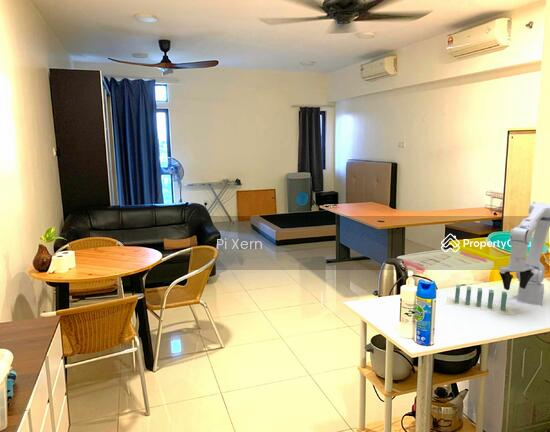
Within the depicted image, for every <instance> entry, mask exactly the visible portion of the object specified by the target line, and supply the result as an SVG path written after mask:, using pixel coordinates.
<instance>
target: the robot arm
mask: <svg viewBox="0 0 550 432" xmlns="http://www.w3.org/2000/svg"><path fill="white" fill-rule="evenodd" d="M528 214H529V215H528V217H526V218H525V217H524V218H523V219H522V220H521V221H520V223H519V224H518V225H517V226H515V227H513V228H512V229H511V230H510V235H509V240H510V242H509V243H510V254H509V255H510V256H509V263H508V265H507V266H503V267H499V271H498V272H499V273H498V274H499V275H500V277H501V280H502V284H503V285H502V286H503V289H504V290H506V291H509V290H510V289H511V288H510V287H511V283H512V280H513V278H514V275H512V274H511V273H515V277H516V279H518V280H517V281H518V283H519V284H518V289H517V291H518V292H517V295H515V298H516V301H517V302H518V303H522V304H523V303H524V304H531V305H536V306H537V305H538V306H542V307H543V299H544V295H545V294H544V293H545V285H544V283H543V282H544V279H545V275H546V273H545V272H546V267H545V266H544V264H543V263H541V261H540V260H541V258H542V254H543V250H544V247H545V244H546V240H547V235H548V232H549V229H550V203H545V202H536V201H532V202H531V203H530V204H529V208H528ZM530 242H531V243H530ZM529 244H530V247H529ZM528 249H529V251H528Z"/></svg>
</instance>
